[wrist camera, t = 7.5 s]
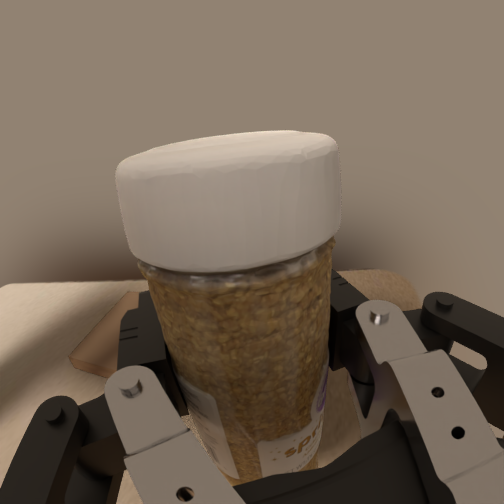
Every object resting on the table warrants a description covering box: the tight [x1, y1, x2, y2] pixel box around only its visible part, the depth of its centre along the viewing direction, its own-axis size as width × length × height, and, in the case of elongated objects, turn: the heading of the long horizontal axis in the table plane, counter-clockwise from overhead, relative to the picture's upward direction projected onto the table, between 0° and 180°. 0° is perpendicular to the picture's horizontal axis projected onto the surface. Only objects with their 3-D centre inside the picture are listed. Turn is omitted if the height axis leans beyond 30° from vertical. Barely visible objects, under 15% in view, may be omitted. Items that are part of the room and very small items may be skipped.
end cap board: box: [68, 292, 140, 378], centre depth 26 cm, size 22×12×4 cm, turn 77°
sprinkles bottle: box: [115, 130, 341, 486], centre depth 9 cm, size 5×5×14 cm
